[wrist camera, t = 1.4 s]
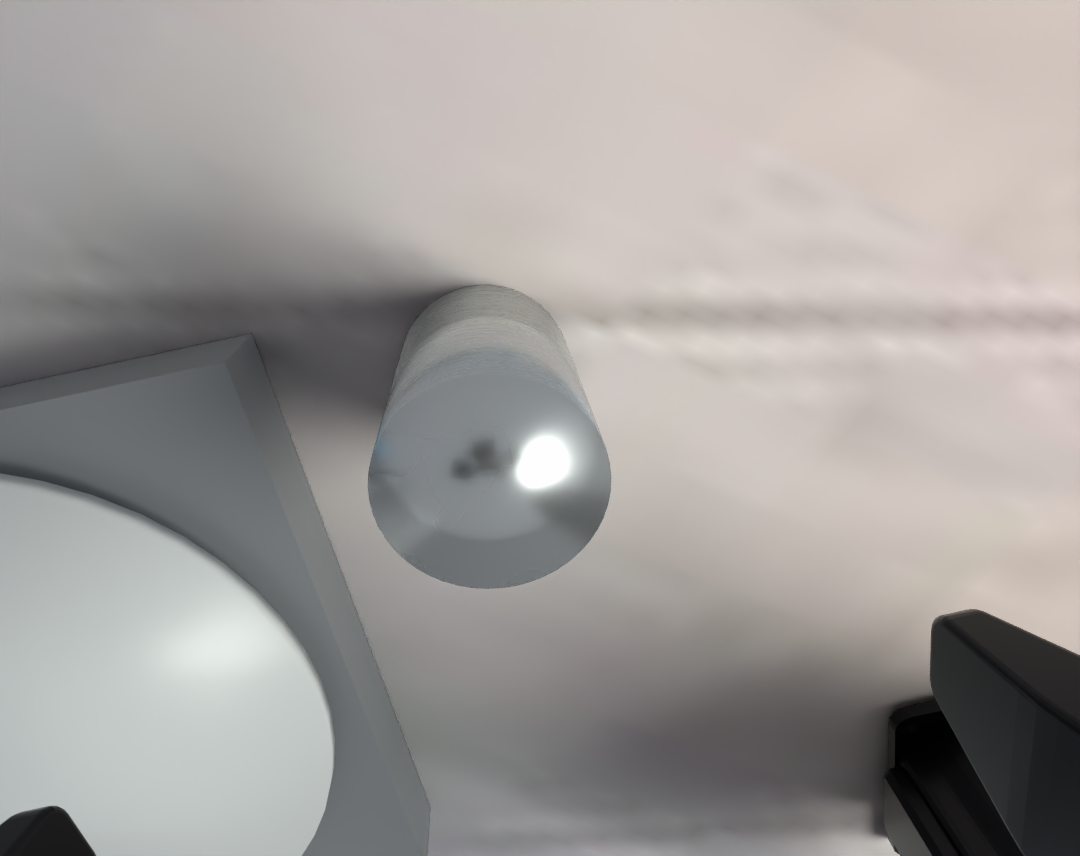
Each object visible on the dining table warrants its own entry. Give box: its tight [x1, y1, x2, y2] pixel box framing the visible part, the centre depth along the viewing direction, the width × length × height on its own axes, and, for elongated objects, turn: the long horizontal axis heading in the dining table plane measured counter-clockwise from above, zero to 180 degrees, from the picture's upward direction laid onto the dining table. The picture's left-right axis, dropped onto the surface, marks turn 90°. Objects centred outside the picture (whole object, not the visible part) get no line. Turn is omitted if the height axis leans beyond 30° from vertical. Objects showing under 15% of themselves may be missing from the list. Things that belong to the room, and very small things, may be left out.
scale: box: [0, 334, 430, 856], centre depth 19 cm, size 16×17×3 cm
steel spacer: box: [368, 285, 611, 589], centre depth 15 cm, size 4×4×6 cm
